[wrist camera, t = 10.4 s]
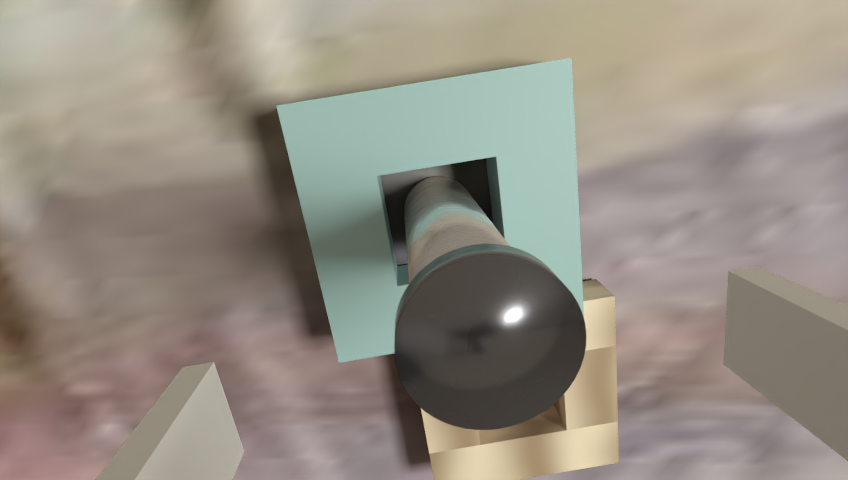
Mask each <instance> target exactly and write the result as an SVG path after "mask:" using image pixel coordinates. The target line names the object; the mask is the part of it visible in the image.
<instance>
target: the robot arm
mask: <svg viewBox="0 0 848 480" xmlns="http://www.w3.org/2000/svg"><path fill="white" fill-rule="evenodd" d="M724 365H725V366H726V367H728V368H729V369H730V370H732V371H733V372H734V373H735V374H737V375H738V376H739V377H741V378H742V379H743V380H744V381H746V382H747V383H748V384H750V385H751V386H752V387H753V388H755V389H756V390H757V391H759V392H760V393H761V394H762V395H764V396H765V397H766V398H768V399H769V400H770V401H771V402H773V403H774V404H775V405H777V406H778V407H779V408H780V409H782V410H783V411H784V412H786V413H787V414H788V415H789V416H791V417H792V418H793V419H795V420H796V421H797V422H798V423H800V424H801V425H802V426H804V427H805V428H806V429H807V430H809V431H810V432H811V433H813V434H814V435H815V436H816V437H818V438H819V439H820V440H821V441H823V442H824V443H825V444H827V445H828V446H829V447H830V448H832V449H833V450H834V451H836V452H837V453H838V454H839V455H841V456H842V457H843V458H845V459H846V460H847V461H848V306H847V305H845V304H842V303H840V302H838V301H836V300H833V299H831V298H829V297H827V296H824V295H822V294H820V293H818V292H815V291H813V290H811V289H808V288H806V287H804V286H802V285H799V284H797V283H795V282H793V281H790V280H788V279H786V278H784V277H781V276H779V275H777V274H774V273H772V272H770V271H768V270H765V269H763V268H761V267H759V266H755V267H749V268H744V269H738V270H732V271H729V272H728V291H727V310H726V329H725V347H724ZM243 453H244V450H243V447H242V444H241V441H240V438H239V435H238V432H237V429H236V426H235V423H234V420H233V417H232V414H231V411H230V408H229V405H228V402H227V399H226V396H225V393H224V390H223V387H222V385H221V382H220V379H219V376H218V373H217V370H216V367H215V364H214V362H210V363H204V364H199V365H193V366H187V367H183V368H182V369H181V370H180V371H179V373H178V374H177V375H176V377H175V378H174V379H173V381H172V382H171V383H170V384H169V386H168V387H167V388H166V390H165V391H164V392H163V393H162V395H161V396H160V397H159V399H158V400H157V401H156V402H155V404H154V405H153V406H152V408H151V409H150V410H149V412H148V413H147V414H146V415H145V417H144V418H143V419H142V421H141V422H140V423H139V424H138V426H137V427H136V428H135V430H134V431H133V432H132V433H131V435H130V436H129V437H128V439H127V440H126V441H125V442H124V444H123V445H122V446H121V448H120V449H119V450H118V452H117V453H116V454H115V455H114V457H113V458H112V459H111V461H110V462H109V463H108V464H107V466H106V467H105V468H104V470H103V471H102V472H101V473H100V475H99V476H98V477H97V479H96V480H233V478H234V475H235V473H236V470H237V468H238V465H239V463H240V461H241V458H242V456H243Z"/></svg>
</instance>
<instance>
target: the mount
mask: <svg viewBox="0 0 848 480" xmlns="http://www.w3.org/2000/svg"><path fill="white" fill-rule="evenodd" d="M582 285H583V306H584V321H585V326H586V349H585V355H584V359H583V362H582V365H581V368H580V370H579V372H578V374H577V376H576V378H575V380H574V381H573V383H572V384H571V386H570V387H569V389H568V390H567V391H566V392H565V393H564V395H563V396H562V397H561V398H560V399H559V400H558V401H557V402H556V403H554V404H553V405H552V406H551V407H549V408H548V409H547V410H545V411H544V412H542V413H541V414H539V415H537V416H536V417H534V418H532V419H530V420H527V421H525V422H523V423H520V424H517V425H514V426H510V427H506V428H501V429H493V430H473V429H465V428H460V427H456V426H453V425H450V424H447V423H444V422H442V421H440V420H438V419H436V418H434V417H432V416H431V415H429V414H428V413H427V412H425V411H424V410H423V409H421V412H422V417H423V423H424V428H425V433H426V439H427V444H428V450H429V455H430V460H431V466H432V471H433V476H434V480H519V479H525V478H530V477H536V476H542V475H548V474H554V473H560V472H566V471H571V470H577V469H583V468H589V467H595V466H601V465H607V464H613V463H618V462H619V454H618V413H617V373H616V333H615V296H614V295H613V294H612V293H611V292H610V291H608V290H607V289H606V288H605V287H604V286H603V285H602V284H601V283H600V282H599V281H597V280H596V279H594V280H588V281H582Z"/></svg>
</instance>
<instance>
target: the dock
mask: <svg viewBox="0 0 848 480" xmlns="http://www.w3.org/2000/svg"><path fill="white" fill-rule="evenodd" d="M276 106H277V111H278V115H279V119H280V123H281V127H282V131H283V135H284V139H285V143H286V147H287V151H288V156H289V160H290V164H291V168H292V172H293V176H294V180H295V184H296V188H297V192H298V196H299V200H300V205H301V209H302V213H303V217H304V221H305V225H306V229H307V233H308V237H309V241H310V245H311V250H312V254H313V258H314V262H315V266H316V270H317V274H318V278H319V282H320V286H321V290H322V295H323V299H324V303H325V307H326V311H327V315H328V319H329V323H330V327H331V331H332V335H333V339H334V344H335V348H336V352H337V356H338V360H339V363H340V362H346V361H352V360H358V359H364V358H370V357H376V356H381V355H387V354H393V353H394V343H395V318H396V312H397V308H398V305H399V302H400V299H401V297H402V295H403V293H404V291H405V289H406V288H407V286H408V285H409V275H408V265H402V266H397V262H396V257H395V252H394V246H393V241H392V235H391V230H390V224H389V219H388V214H387V208H386V203H385V197H384V192H383V186H382V181H381V176H380V175H386V174H392V173H398V172H404V171H411V170H417V169H423V168H429V167H435V166H441V165H447V164H453V163H460V162H466V161H472V160H478V159H484V158H486V164H487V173H488V182H489V191H490V200H491V209H492V218H493V225H494V226H495V227H496V229H497V230H498V231H499V232H500V234H501V235H502V236H503V238H504V239H505V240H506V242H507V243H508V244H509V245H510V246H511V247H515V248H518V249H521V250H523V251H525V252H528V253H530V254H532V255H533V256H535V257H536V258H538V259H540V260H541V261H542V262H543V263H544V264H546V265H547V266H548V267H549V268H550V269H551V270H552V271H553V273H554V274H555V275H556V276H557V277H558V278H559V279H560V280H561V281H562V283H563V284H564V285H565V286H566V287H567V288H568V289H569V290H570V292H571V293H572V294H573V296H574V297H575V299H576V301H577V302H578V304H579V306H580V309H581V311H582V313H583V317H584V306H583V285H582V265H581V244H580V224H579V203H578V182H577V162H576V141H575V121H574V100H573V79H572V59H571V58H568V59H562V60H555V61H549V62H543V63H537V64H531V65H524V66H518V67H512V68H506V69H500V70H493V71H487V72H481V73H475V74H469V75H462V76H456V77H450V78H444V79H438V80H431V81H425V82H419V83H413V84H407V85H400V86H394V87H388V88H382V89H376V90H369V91H363V92H357V93H351V94H345V95H338V96H332V97H326V98H320V99H314V100H307V101H301V102H295V103H289V104H283V105H276Z"/></svg>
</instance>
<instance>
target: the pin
mask: <svg viewBox="0 0 848 480" xmlns="http://www.w3.org/2000/svg"><path fill="white" fill-rule="evenodd" d="M404 217H405V231H406V246H407V260H408V275H409V285H408V286H407V288H406V289H405V291H404V293H403V295H402V297H401V299H400V302H399V305H398V308H397V312H396V318H395V343H394V355H395V364H396V368H397V372H398V376H399V378H400V380H401V383H402V385H403V387H404V388H405V390H406V392H407V393H408V395H409V396H410V397H411V398H412V400H413V401H414V402H415V403H416V404H417V405H418V406H419V407H420V408H421V409H423V410H424V411H425V412H427V413H428V414H429V415H431V416H432V417H434V418H436V419H438V420H440V421H442V422H444V423H447V424H450V425H453V426H456V427H460V428H465V429H473V430H493V429H501V428H506V427H510V426H514V425H517V424H520V423H523V422H525V421H527V420H530V419H532V418H534V417H536V416H537V415H539V414H541V413H542V412H544V411H545V410H547V409H548V408H549V407H551V406H552V405H553V404H554V403H556V402H557V401H558V400H559V399H560V398H561V397H562V396H563V395H564V393H565V392H566V391H567V390H568V389H569V387H570V386H571V384H572V383H573V381H574V380H575V378H576V376H577V374H578V372H579V370H580V368H581V365H582V362H583V359H584V355H585V349H586V326H585V321H584V317H583V313H582V311H581V309H580V306H579V304H578V302H577V301H576V299H575V297H574V296H573V294H572V293H571V292H570V290H569V289H568V288H567V287H566V286H565V285H564V284H563V283H562V281H561V280H560V279H559V278H558V277H557V276H556V275H555V274H554V273H553V271H552V270H551V269H550V268H549V267H548V266H547V265H546V264H544V263H543V262H542V261H541V260H540V259H538V258H536V257H535V256H533V255H532V254H530V253H528V252H525V251H523V250H521V249H518V248H515V247H511V246H510V245H509V244H508V243H507V242H506V240H505V239H504V238H503V236H502V235H501V234H500V232H499V231H498V230H497V229H496V227H495V226H494V225H493V223H492V222H491V221H490V219H489V218H488V217H487V216H486V214H485V213H484V212H483V210H482V209H481V208H480V207H479V205H478V204H477V203H476V201H475V200H474V199H473V197H472V196H471V195H470V194H469V192H468V191H467V190H466V189H465V187H464V186H463V185H462V184H460V183H459V182H457V181H456V180H454V179H451V178H448V177H443V176H437V177H430V178H427V179H425V180H423V181H421V182H419V183H418V184H417V185H416V186H415V187H413V189H412V190H411V191H410V193H409V194H408V196H407V198H406V201H405V206H404Z"/></svg>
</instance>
